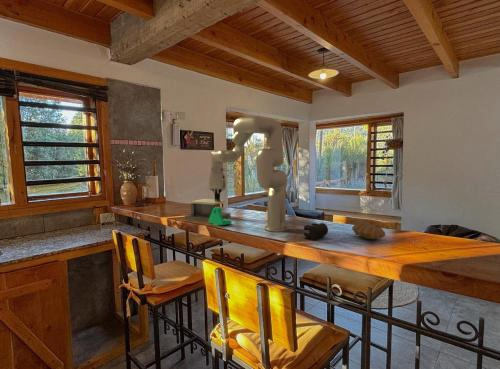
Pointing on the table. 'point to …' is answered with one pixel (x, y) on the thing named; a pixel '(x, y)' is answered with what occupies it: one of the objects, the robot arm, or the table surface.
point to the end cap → (315, 231)
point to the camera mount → (218, 217)
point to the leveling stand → (202, 212)
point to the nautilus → (368, 230)
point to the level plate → (208, 201)
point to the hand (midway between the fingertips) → (217, 199)
